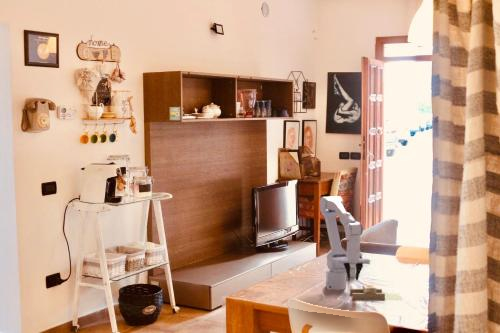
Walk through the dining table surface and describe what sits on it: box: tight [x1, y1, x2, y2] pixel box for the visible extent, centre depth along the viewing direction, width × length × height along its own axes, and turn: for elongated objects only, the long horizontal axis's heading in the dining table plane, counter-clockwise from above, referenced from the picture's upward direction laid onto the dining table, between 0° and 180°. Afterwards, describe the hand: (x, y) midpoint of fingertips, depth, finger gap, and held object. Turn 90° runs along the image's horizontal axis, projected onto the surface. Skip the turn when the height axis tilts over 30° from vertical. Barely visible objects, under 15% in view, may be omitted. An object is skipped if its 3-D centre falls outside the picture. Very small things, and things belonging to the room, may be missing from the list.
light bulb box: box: [346, 264, 356, 278], centre depth 309 cm, size 11×7×11 cm, turn 92°
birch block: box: [362, 284, 377, 293], centre depth 271 cm, size 5×5×4 cm
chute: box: [349, 288, 404, 301], centre depth 271 cm, size 22×9×3 cm, turn 89°
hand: (352, 279), depth 271 cm, fingers open, 3 cm apart
